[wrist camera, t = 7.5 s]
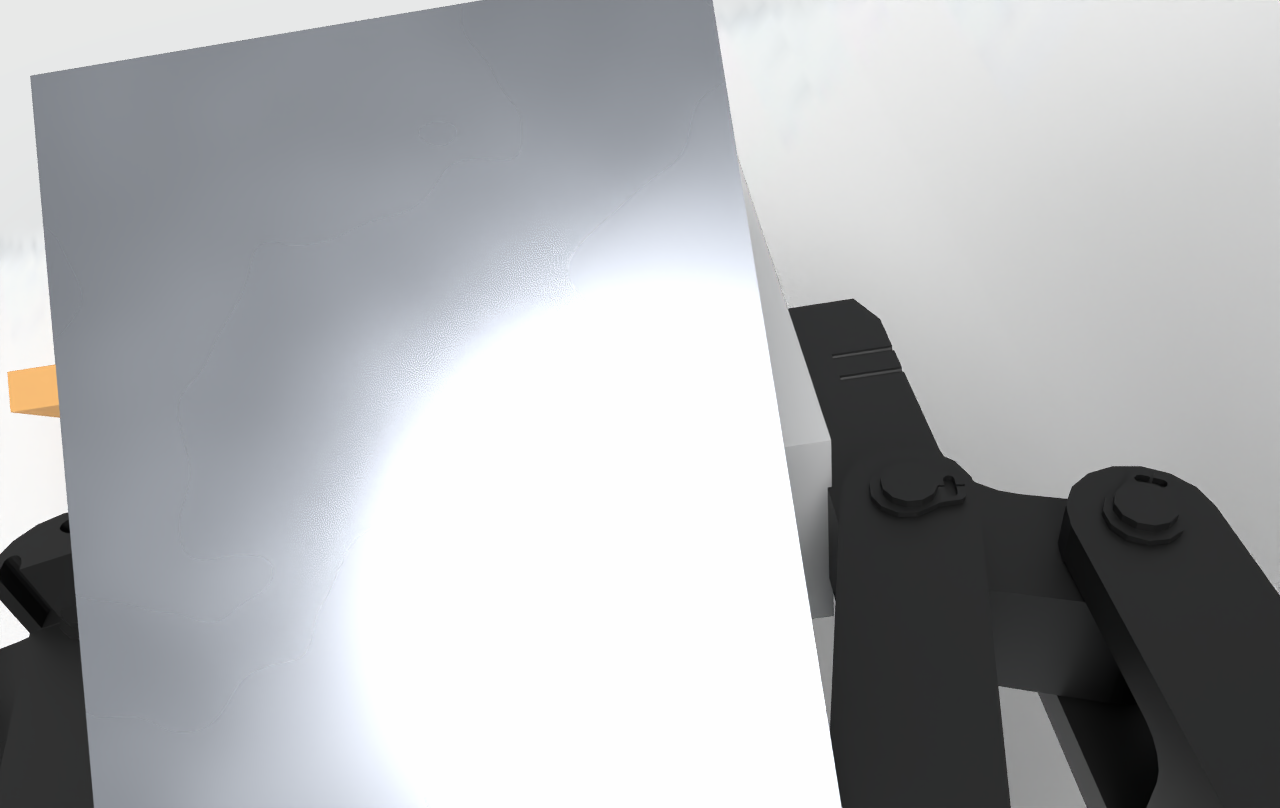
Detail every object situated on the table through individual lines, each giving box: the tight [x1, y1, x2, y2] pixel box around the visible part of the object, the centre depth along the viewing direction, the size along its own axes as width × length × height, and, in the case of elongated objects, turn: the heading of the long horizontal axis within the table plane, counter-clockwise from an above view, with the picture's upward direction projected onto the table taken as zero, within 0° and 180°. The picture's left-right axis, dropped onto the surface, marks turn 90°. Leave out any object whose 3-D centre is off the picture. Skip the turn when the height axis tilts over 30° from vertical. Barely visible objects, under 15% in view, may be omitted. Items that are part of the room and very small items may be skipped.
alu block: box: [30, 0, 842, 808], centre depth 13 cm, size 5×7×12 cm
